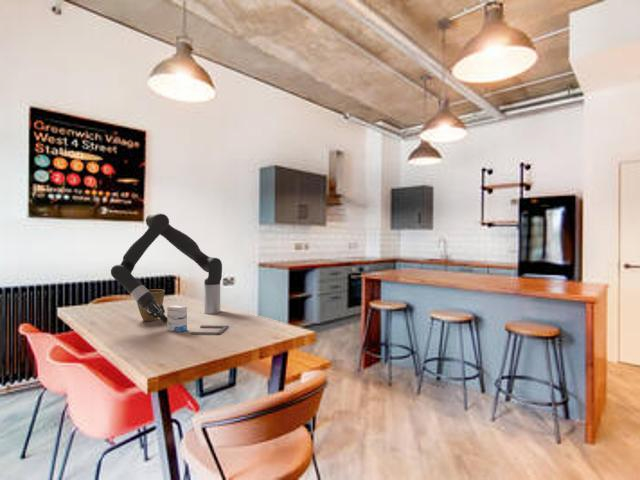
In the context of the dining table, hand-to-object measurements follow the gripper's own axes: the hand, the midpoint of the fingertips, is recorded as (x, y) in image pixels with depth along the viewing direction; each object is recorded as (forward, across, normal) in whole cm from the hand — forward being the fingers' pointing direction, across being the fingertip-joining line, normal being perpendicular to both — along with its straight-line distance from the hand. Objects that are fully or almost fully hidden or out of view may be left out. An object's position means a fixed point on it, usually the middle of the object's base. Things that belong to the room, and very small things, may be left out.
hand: (166, 321), depth 179 cm
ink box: (+7, 0, -1) cm, 7 cm away
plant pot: (-10, +20, +17) cm, 28 cm away
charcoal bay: (+18, 0, -13) cm, 22 cm away
